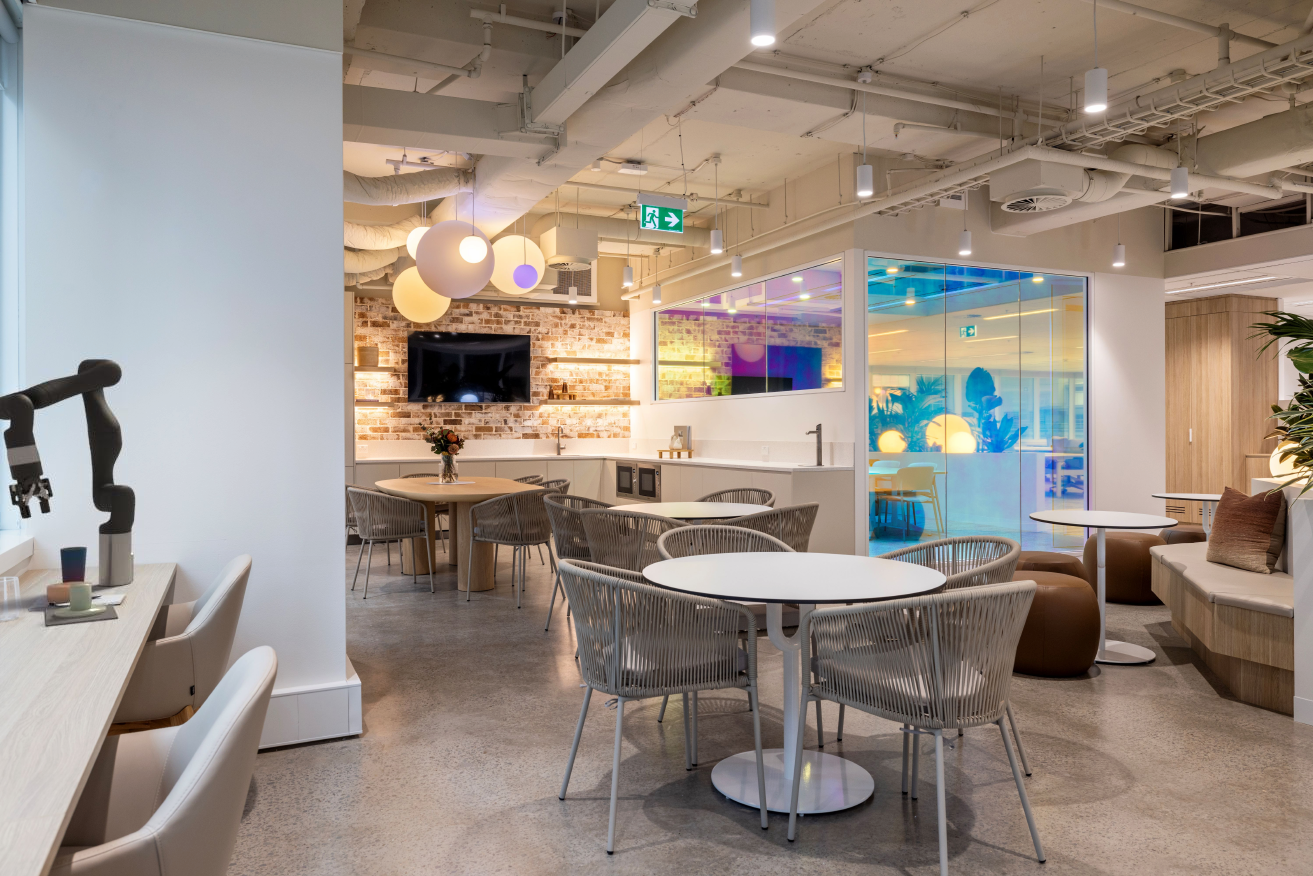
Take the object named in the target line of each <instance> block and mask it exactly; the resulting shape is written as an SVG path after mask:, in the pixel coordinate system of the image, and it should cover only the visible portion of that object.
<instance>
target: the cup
mask: <svg viewBox="0 0 1313 876" xmlns="http://www.w3.org/2000/svg"><path fill="white" fill-rule="evenodd" d="M87 550H88V548H87V546H68V547H63V548H60V550H59V552H60V567H61V577H62V578H61V580H62V583H65V582H85V578H86V577H85V576H86V564H87V563H86V562H87Z"/></svg>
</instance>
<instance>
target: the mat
mask: <svg viewBox="0 0 1313 876" xmlns="http://www.w3.org/2000/svg"><path fill="white" fill-rule="evenodd" d="M104 606H106V612H104V613H102V614H99V615H94V616H89V617H80V618H58V617H55V611H56V610H58V609H61V608H62V607H57V608H47V609H45V620H46V621H45V623H46V627H52V626H53V625H55V626H63V625H62V624H64V625H70V624H71V623H73V624H80V623H79V622H82V623H88V622H87V621H91V622H94V621H93V620H101V621H107V620H106V619H110V620H116V619H119V616H118V613H117V612H116V609H115V607H114V605H113V603H112V604H108V605H104ZM104 619H105V620H104ZM71 625H72V624H71ZM53 627H54V626H53Z"/></svg>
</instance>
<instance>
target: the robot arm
mask: <svg viewBox="0 0 1313 876" xmlns="http://www.w3.org/2000/svg"><path fill="white" fill-rule="evenodd" d="M122 372H123V371H122V369H121V366H120V365H119V364H118V362H116V361H114V360H112V359H106V358H105V359H104V358H99V359H97V358H90V359H84V360H81V362H80V363H79V365H78V367H77V374H73V375H68V376H63V377H59V378H58V377H57V378H54V379H50V380H47V381H44V382H41V383H39V384H35V385H32V386H31V387H28V388H26V389H23V390H19V391H16V392H12V393H10V394H5V395H2V396H0V420H3V421H10V424H9V427H8V428H7V429H5V430H4V432H3V440H4V444H5V449H6V457H7V463H8V466H9V470H10V476H11V479H12V480H13V481H16V483H14V484H10V485H8V488H9V495H10V500H11V504H12V506H17V507H19V511H20V512H19V513H20V516H21V519H26V520H27V519H31V518H32V513H31V509H30V505H29V502H30V500H31V499H32V498H33V497H35V498H36V499H37V500H38V501H39V508H40V512H41V513H42V514H48V513H51V507H50V501H49V500H50V499H51V498H52V497H53V496H54V494H53V490H52V487H51V482H50V479H49V477H45V478H41V476H44V470H43V466H42V461H41V457H40V453H39V450H38V448H37V443H36V440H35V439H36V438H35V434H34V431H33V430H34V423H35V422H34V421H35V411H36V410H41V409H44V408H47V407H50V406H52V405H56V404H58V403H59V402H62V401H64V400H68V399H70V398H73V397H76V396H79V395H81V396H82V397H81V398H82V401H83V406H84V412H85V418H86V419H85V420H86V427H87V437H88V444H89V445H88V446H89V450H90V458H91V459H90V460H91V461H90V462H91V470H92V472H91V473H92V474H91V475H92V477H91V478H92V479H91V480H92V482H91V484H92V486H91V489H92V492H91V493H92V494H91V495H92V503H93V506H94V507H95V508H96V510H98V511H100V512H103V513H110V515H109V519H108V520H107V521H106V522H103V523H102V524H100V525H99V526H98V585H99V586H101V587H114V586H116V587H117V586H122V585H128V584H132V583H133V582H134V576H135V575H134V574H135V573H134V567H135V566H134V563H135V562H134V561H135V560H134V556H135V555H134V553H132V530H133V529H132V527H133V525H134V523H135V516H136V515H135V513H136V495H135V492H134V491H135V490H134V489H133V488H132V487H131V486H128V485H125V484H115V482H114V481H115V480H114V469H115V463H116V462H117V460H118V458H119V455H120V454H121V451H122V448H123V438H122V428H121V425H120V422H119V421H118V419H117V417H116V416H115V414H114V412H113V411H112V410H111V409H110V406H109V405H108V403H107V401H106V398H105V392H104V388H110V387H113V386H116V385H117V384H118V383H119V382H120V381H121V379H122V376H123V375H122V374H123V373H122Z"/></svg>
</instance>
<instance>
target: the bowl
mask: <svg viewBox="0 0 1313 876" xmlns="http://www.w3.org/2000/svg"><path fill="white" fill-rule="evenodd" d="M76 583H91V598H92V597H93V596H92V585H93V583H92V582H90V581H84V582H65V583H63V582H59V583H54V584H53V583H52V584H50V585H47V586H46V601H47V602H49V603H53V602H55V603H67V602H70V585H71V584H76Z"/></svg>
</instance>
